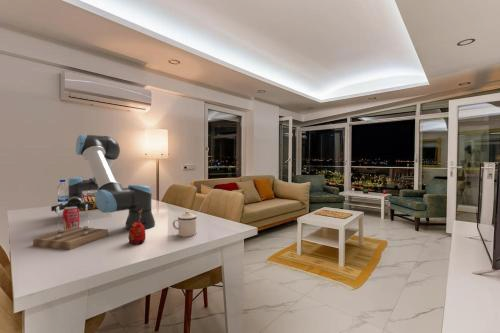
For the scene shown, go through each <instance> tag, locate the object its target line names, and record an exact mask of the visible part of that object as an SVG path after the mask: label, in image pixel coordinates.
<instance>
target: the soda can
mask: <svg viewBox="0 0 500 333" xmlns="http://www.w3.org/2000/svg"><path fill="white" fill-rule="evenodd" d="M73 227H80V209H78V208H77V207H66V208H64V209H63V211H62V229H63V230H66V229H69V228H73Z"/></svg>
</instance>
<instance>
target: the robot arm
mask: <svg viewBox="0 0 500 333" xmlns="http://www.w3.org/2000/svg"><path fill="white" fill-rule="evenodd" d="M120 147H121V146H120V144H119V142H118V141H117V140H115V139H114V138H113V137H111V136H108V135H94V134H79V135H78V136H77V138H76V142H75V154H76V155H78V156H82V157H83V160H85V161H87V162H88V165H89V167H90V170H91V173H92V174H93V176H92V178H91V179H83V178H82V177H69V178H68V183H67V186H68V187H67V188H68V201H67V203H65V204H64V203H60V204H57V205H52V206H50V207H51V208H50V210H51V212H54V213H56V214H58V213H59V212H60V211H62V210H63V211H64V208H66V207H77V208H78V210H80V209H85V211H86V212H87V211H88V209H93V208H94V203H93V202H92V203H91V202H87V201H84V199H83V192H90V191H96V192H95V195H94V201H95V205H96V207H97V209H98V210H99V211H100V212H102V213H103V214H104V213H105V214H107V213H115V212H120V211H121V212H122V211H126V210H127V211H128V216H127V217H126V221H125V225H124V227H125V229H126V230H129V231H130V229H131V227H132V224H133V223H134V222H138V221H139V219H140V222H141V224H142V225H143V226H144V229H145V230H146V229H147V230H148V229H150V228H151V229H152V228H154V227H155V226H156V222H155V221H156V220H155V217H154V215H153V212H152V193H153V192H152V187H151V186H150V185H141V184H140V185H139V184H128V187H123V186H122V184H121V182H117V181H116V177H115V176H114V173H113V172H112V170H111V168H112V166H113V164H114V162H115V161H116V160H117V159H118V158H119V156H120V152H121V148H120ZM83 201H84V203H83ZM141 210H142V212H141V218H139V217H140V213H138V212H139V211H141Z"/></svg>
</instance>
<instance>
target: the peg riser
mask: <svg viewBox="0 0 500 333" xmlns="http://www.w3.org/2000/svg"><path fill="white" fill-rule="evenodd" d="M107 236H109V229H107V228H105V229H104V228H92V227H89V226H88V225H86V226H83V227H81V226H79V227H73V228H69V229H66V230H63V228H59V229H57V231H55V232H53V233H49V234H46V235H42V236H39V237H34V238H33V239H32V247H41V248H50V249H51V248H52V249H61V250H73V249H76V248H79V247H82V246H85V245H87V244H89V243H90V244H91V243H92V242H95V241H98V240H100V239H102V238H105V237H107Z"/></svg>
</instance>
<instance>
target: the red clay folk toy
mask: <svg viewBox="0 0 500 333" xmlns="http://www.w3.org/2000/svg"><path fill="white" fill-rule="evenodd" d="M141 212H142V210H141V211H139V212H138V213H140V217H139V218H141ZM146 234H147V233H146V229H144V226H143V225H142V224H141V222H140V219H139V221H138V222H134V223H133V224H132V227H131V229H130V230H129V232H128V243H130V244H131V245H139V244H142V243H144V242H145V240H146Z"/></svg>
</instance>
